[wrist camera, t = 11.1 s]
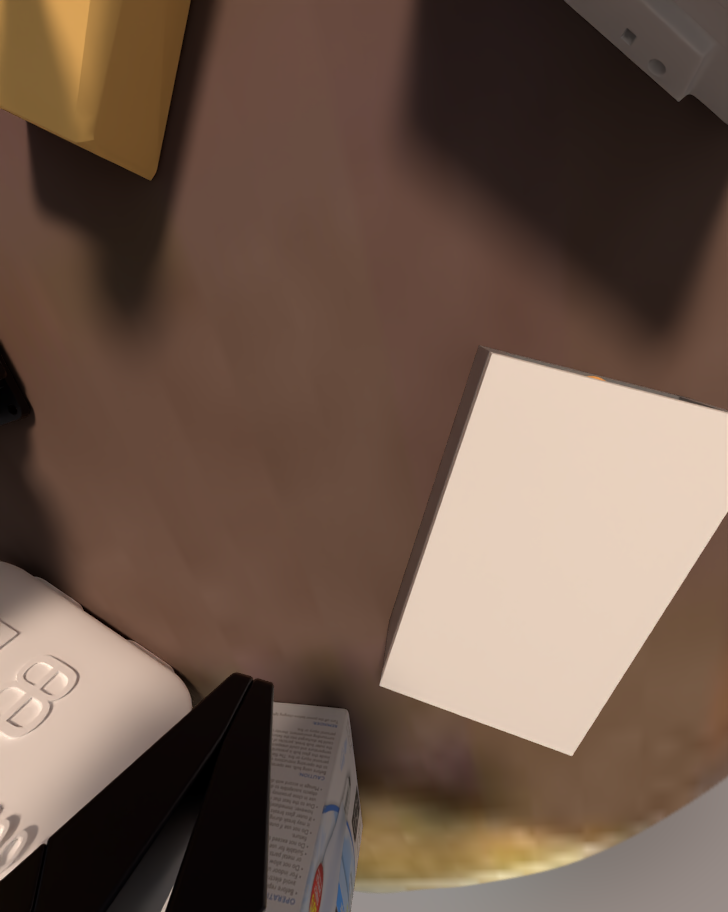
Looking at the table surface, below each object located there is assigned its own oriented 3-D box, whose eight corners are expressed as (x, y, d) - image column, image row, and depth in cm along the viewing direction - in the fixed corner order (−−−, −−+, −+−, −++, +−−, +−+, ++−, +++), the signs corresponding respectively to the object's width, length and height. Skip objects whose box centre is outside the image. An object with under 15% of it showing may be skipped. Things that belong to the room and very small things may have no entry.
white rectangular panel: (382, 670, 18) (379, 685, 17) (489, 351, 13) (492, 353, 12) (566, 736, 17) (571, 756, 16) (760, 420, 12) (781, 427, 11)
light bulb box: (365, 826, 26) (324, 1142, 16) (269, 813, 28) (175, 1099, 17) (348, 703, 23) (284, 1006, 13) (240, 695, 24) (103, 965, 14)
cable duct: (389, 620, 20) (382, 668, 18) (478, 345, 16) (489, 351, 13) (544, 667, 20) (563, 725, 17) (689, 398, 15) (748, 416, 12)
